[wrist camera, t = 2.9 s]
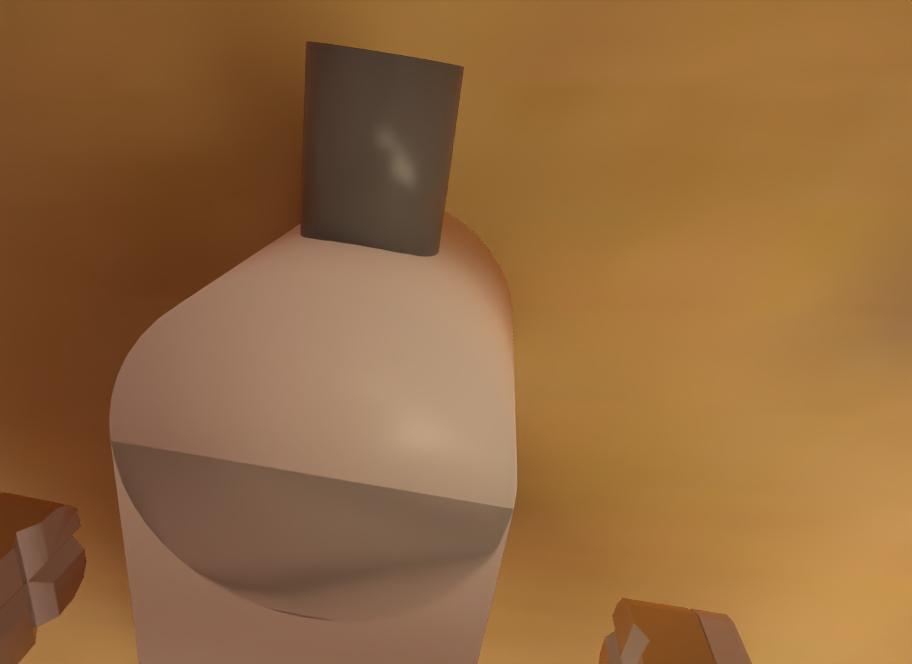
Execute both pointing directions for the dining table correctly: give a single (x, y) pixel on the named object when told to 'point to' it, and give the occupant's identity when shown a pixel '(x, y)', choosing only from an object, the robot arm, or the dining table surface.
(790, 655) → the dining table surface
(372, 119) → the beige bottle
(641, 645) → the robot arm
